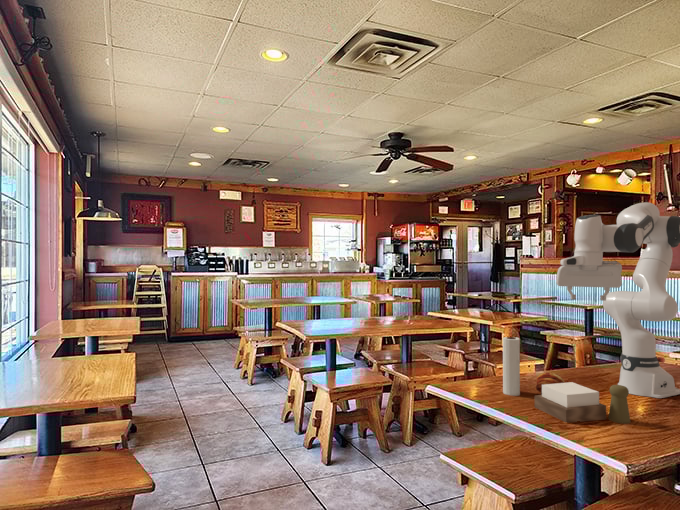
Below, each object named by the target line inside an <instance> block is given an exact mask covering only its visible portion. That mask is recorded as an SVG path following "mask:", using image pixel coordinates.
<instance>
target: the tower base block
mask: <svg viewBox="0 0 680 510" xmlns="http://www.w3.org/2000/svg"><path fill="white" fill-rule="evenodd" d="M534 408H535V409H537V410H539V411H542V412H544V413H546V414H548V415H549V416H551V417H553V418H556V419H558V420H560V421H562V422H564V423H566V422H567V423H578V422H577V421H580V422H590V421H602V420H603V421H604V420H605V421H606V420H607V405H605V404H602V403H601V402H599V405H589V406H579V407H569V408H567V407H565V406H562V405H560V404H558V403H556V402H553V401H551V400H549V399H547V398H544V397H542V394H538V395H537V394H536V395H534Z"/></svg>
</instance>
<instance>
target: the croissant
mask: <svg viewBox="0 0 680 510" xmlns="http://www.w3.org/2000/svg"><path fill="white" fill-rule="evenodd" d="M535 382H536V383H535V384H536V386H535V389H536V391H537V392H539V393H542V385H544V384H556V383H566V382H565V380H564V378H563V377H561V376H560V375H558V374H556V373H553V372H544V373H541V374H539V375H538V376H537V377H536V380H535Z"/></svg>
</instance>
